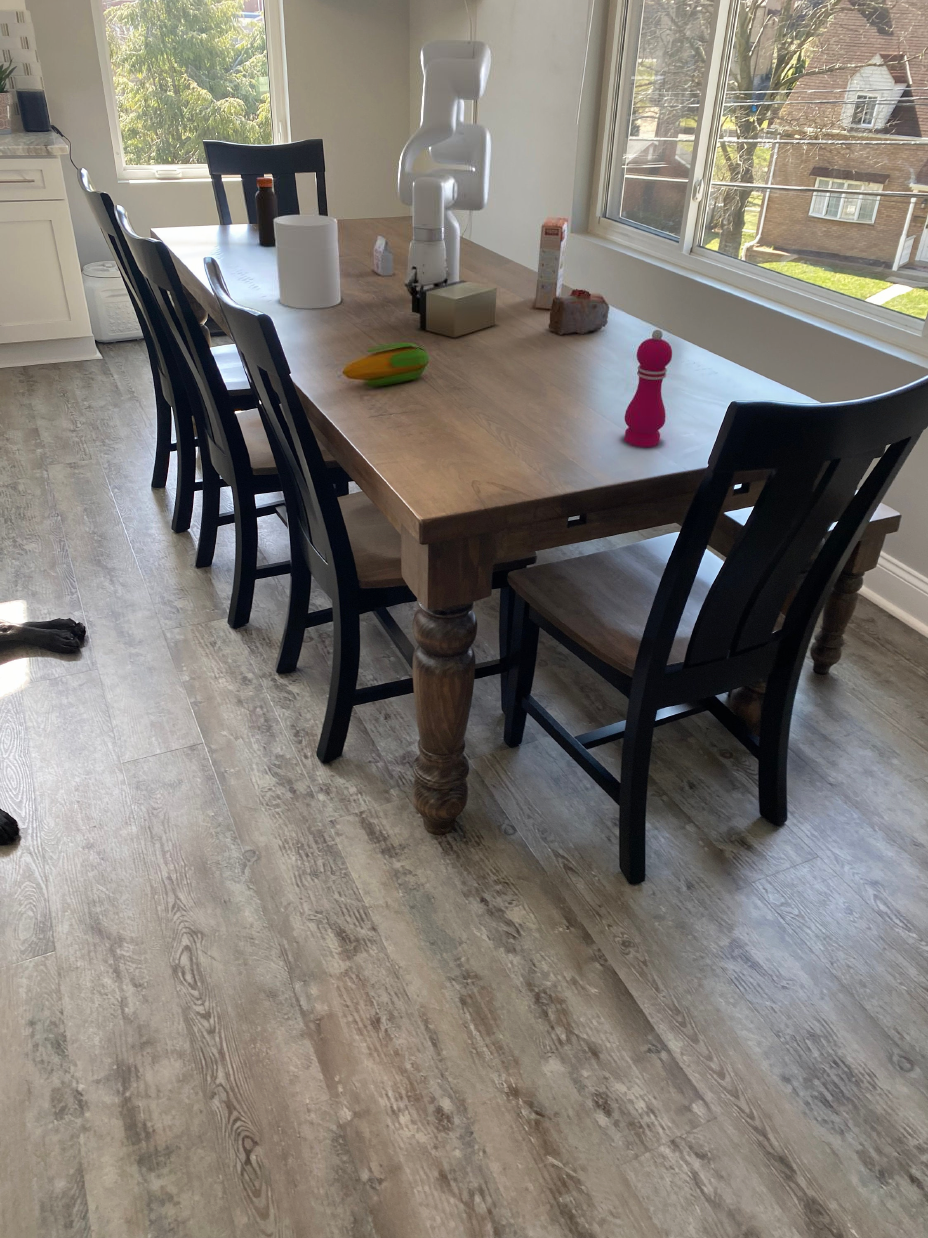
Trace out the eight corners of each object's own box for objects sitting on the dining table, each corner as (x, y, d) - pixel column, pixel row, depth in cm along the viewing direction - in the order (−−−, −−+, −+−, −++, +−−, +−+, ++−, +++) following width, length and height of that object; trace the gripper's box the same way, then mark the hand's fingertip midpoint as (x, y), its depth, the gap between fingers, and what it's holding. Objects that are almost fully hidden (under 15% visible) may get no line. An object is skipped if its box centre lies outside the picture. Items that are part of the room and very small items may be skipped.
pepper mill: (632, 430, 166) (647, 321, 155) (668, 439, 163) (686, 329, 152) (614, 442, 161) (629, 330, 150) (651, 452, 158) (669, 338, 147)
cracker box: (556, 310, 237) (563, 226, 226) (533, 308, 238) (540, 224, 226) (562, 298, 249) (569, 217, 237) (540, 296, 249) (546, 215, 238)
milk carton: (385, 269, 271) (384, 234, 265) (392, 274, 266) (392, 239, 260) (373, 270, 270) (372, 235, 264) (381, 275, 265) (380, 239, 259)
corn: (436, 341, 183) (351, 356, 173) (437, 378, 187) (353, 394, 177) (417, 335, 188) (333, 348, 178) (418, 371, 192) (336, 386, 182)
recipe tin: (403, 324, 221) (403, 286, 216) (445, 312, 231) (446, 276, 226) (454, 337, 212) (455, 298, 207) (495, 324, 223) (496, 287, 218)
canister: (352, 301, 238) (350, 220, 227) (305, 311, 228) (300, 227, 217) (315, 290, 247) (310, 212, 236) (267, 299, 237) (260, 218, 226)
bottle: (278, 246, 295) (272, 180, 284) (257, 246, 294) (251, 179, 284) (282, 242, 300) (276, 177, 289) (261, 242, 300) (256, 176, 289)
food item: (590, 323, 227) (595, 283, 222) (609, 331, 222) (614, 290, 216) (545, 328, 222) (548, 287, 216) (563, 337, 216) (566, 295, 211)
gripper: (439, 227, 222) (438, 301, 232) (392, 236, 211) (393, 313, 221) (462, 232, 218) (460, 306, 228) (415, 241, 207) (415, 319, 217)
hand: (427, 309), depth 224 cm, fingers closed on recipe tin, 7 cm apart
